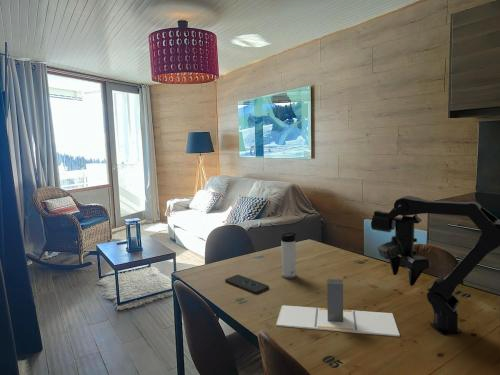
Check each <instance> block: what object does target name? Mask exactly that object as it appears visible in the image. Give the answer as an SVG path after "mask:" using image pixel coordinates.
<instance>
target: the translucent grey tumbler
mask: <svg viewBox="0 0 500 375" xmlns="http://www.w3.org/2000/svg"><path fill="white" fill-rule="evenodd" d="M326 280H327V283H326V290H327V292H326V295H327V296H326V297H327V299H326V301H327V308H326V309H328V321H333V322H343V310H344V281H343V280H344V279H336V278H333V279H332V278H327V279H326Z"/></svg>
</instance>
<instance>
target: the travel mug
mask: <svg viewBox="0 0 500 375" xmlns="http://www.w3.org/2000/svg"><path fill="white" fill-rule="evenodd" d="M296 235H297V233H296V232H285V233H282V234H281V240H280V241H281V242H280V244H281V245H280V246H281V274H282V277H283V278H284V279H295V278H296V277H297V263H296V262H297V259H296V258H297V257H296V256H297V255H296V254H297V253H296V251H297V250H296V246H297V245H296Z"/></svg>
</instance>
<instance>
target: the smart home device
mask: <svg viewBox="0 0 500 375" xmlns="http://www.w3.org/2000/svg"><path fill="white" fill-rule="evenodd" d="M224 282H225V283H226V284H229V285H231V286H234V287H237V288H239V289H241V290H244V291H247V292H248V293H251V294H254V295H258V294H260V293H263V292H265V291H268V290H269V289H270V285H268V284H265V283H263V282H260V281H258V280H254V279H251V278H249V277H246V276H244V275H241V274H236V275H233V276H230V277H226V278H225V280H224Z"/></svg>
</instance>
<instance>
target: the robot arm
mask: <svg viewBox="0 0 500 375" xmlns="http://www.w3.org/2000/svg"><path fill="white" fill-rule="evenodd" d="M421 214H432V215H433V214H435V215H449V216H461V217H463V216H464V217H468V218H469V219H470V220H471V221H472V223H474V225H475V226H476V227H477V228H478V230H480V231H481V234H480V237H479V238H478V240H477V242H476V244H475V245H474V246H473V247H472V248H471V249H470V251H468V253H467V254H466V255H465V256H464V257H463V258H462V259H461V261H460V262H459V263H457V265H456V266H455V267H454V268H453V270H452V271H450V273H449V274H447V276H445V277H442V276H441V275H439V276H438V277H437V278H436V279H435V281H434V282H432V283H431V284H430V285H429V287H428V288H427V289H426V290H427V294H426V299H427V301H428V303H429V304H430V305H431V307H432V309H433V322H430V323H429V325H430V326H431V327H432V328H433V329H434V330H436V331H438V332H439V333H440V334H442V335H447V336H448V335H453V334H454V335H455V334H462V333H463V330H461V329H460V328H458V325H459V324H458V323H459V322H458V321H459V320H458V319H459V314H458V313H457V312H458V311H457V308H458V307H459V305H460V304H461V302H460V300H459V299H458V298H457V297H456V296H455V295H454V293H455V291H456V289H457V288H458V286H459V285H460V284H461V283H462V282H463V281H464V280H465V279H466V278H467V276H468V275H469V274H470V273H471V272H472V271H473V270H474V269H475V268H476V267H477V266H478V265H479V264H480V262H482V261H483V259H484V258H485V257H486V256H487V255H488V254H489V253H491V252H493V251H495V250H496V249H498V248H499V247H500V219H498V217H496V216H495V215H494V214H493V213H491V212H490V211H488V210H487V209H486V208H484V207H483V206H482V205H481V204H480V203H479V202H477V201H452V200H449V201H448V200H428V199H423V198H421V197H418V196H412V195H405V196H402V197H400V198H398V199H396V200H395V202H394V203H393V208H392V209H391V210H390V211H389V212H387V211H382V210H375V211H373V216H372V217H371V222H370V226H371V230H373V231H377V232H385V233H391V232H392V231H394V232H395V233H394V235H392V236H391V240H390V241H387V242H385V243H383V244H380V245H378V246H377V251H378V254H379V256H380V257H381V258H382V259H383V258H384V260H388V262H389V265H390V267H391V268H390V269H391V270H392V275H394V276H396V275H398V273H399V268H400V266H401V261H402V259H404V260H405V261H404V262H405V265H404V267H405V268H406V269H407V270H408V284H409V286H411V287H412V286H414V285H415V284H416V283H417V280H418V279H419V277H420V276H421V275H422V273H423V272H424V271H425V270H427V269H431V260H430V259H428V258H427V257H424V256H423V255H417V250H415V249H414V248H415V247H414V246H415V244H414V243H417V242H418V238H416V237H415V224H419V223H421V222H423V221H422V219H421V218H420V217H419V216H418V215H421ZM398 216H402V217H398Z"/></svg>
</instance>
